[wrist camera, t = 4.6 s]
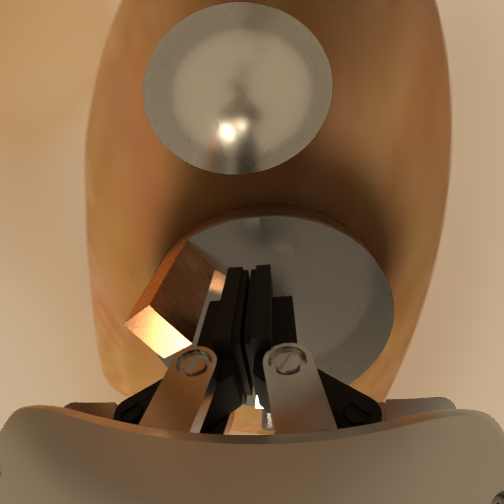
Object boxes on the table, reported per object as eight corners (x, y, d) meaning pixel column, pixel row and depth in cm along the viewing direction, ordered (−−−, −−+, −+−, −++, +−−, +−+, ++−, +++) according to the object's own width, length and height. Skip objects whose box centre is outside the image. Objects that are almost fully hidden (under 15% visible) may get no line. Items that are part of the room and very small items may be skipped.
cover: (186, 53, 11) (140, 20, 6) (301, 45, 11) (323, 1, 6) (194, 157, 14) (152, 182, 9) (307, 151, 14) (335, 172, 8)
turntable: (114, 294, 17) (64, 369, 11) (301, 145, 12) (335, 173, 6) (250, 404, 22) (245, 473, 16) (410, 329, 17) (445, 404, 11)
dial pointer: (262, 369, 21) (260, 413, 18) (281, 369, 21) (282, 412, 17) (263, 390, 23) (262, 431, 19) (281, 390, 23) (281, 430, 19)
